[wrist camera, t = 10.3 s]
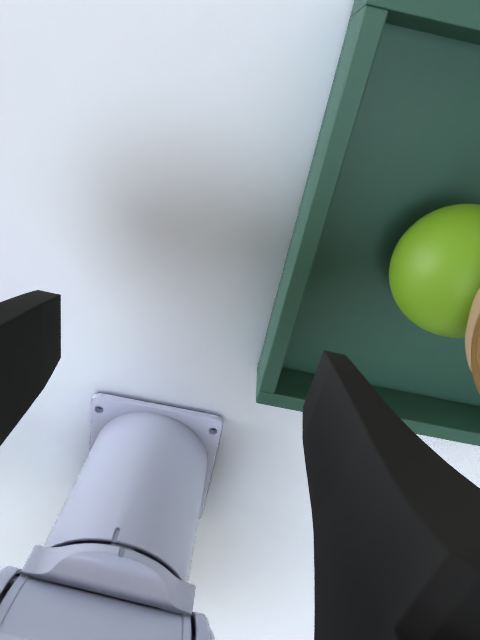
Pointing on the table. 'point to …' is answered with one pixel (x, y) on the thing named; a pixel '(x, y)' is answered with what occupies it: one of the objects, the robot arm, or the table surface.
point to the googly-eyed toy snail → (442, 276)
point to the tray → (383, 214)
